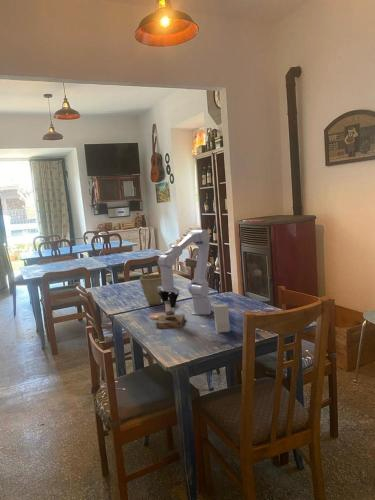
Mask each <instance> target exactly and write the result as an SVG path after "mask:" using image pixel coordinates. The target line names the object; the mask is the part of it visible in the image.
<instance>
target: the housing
mask: <svg viewBox="0 0 375 500" xmlns="http://www.w3.org/2000/svg"><path fill="white" fill-rule="evenodd" d="M185 316H186V315H185V314H184V313H183V314H182V313H181V314H174V315H171V316H168V315H161V316H160V318H159V319H157V321H156V322H155V326H156V329H160V328H161V329H162V328H163V329H164V328H167V329H168V328H171V329H172V328H182V326H183V324H184V321H185V320H186V319H185V318H186V317H185Z"/></svg>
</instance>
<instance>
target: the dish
mask: <svg viewBox="0 0 375 500" xmlns="http://www.w3.org/2000/svg"><path fill="white" fill-rule="evenodd" d="M161 315H166V312H157V313H152V314H150V315H149V319H150V320H157V321H158V319H159V318H160V316H161Z"/></svg>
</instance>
